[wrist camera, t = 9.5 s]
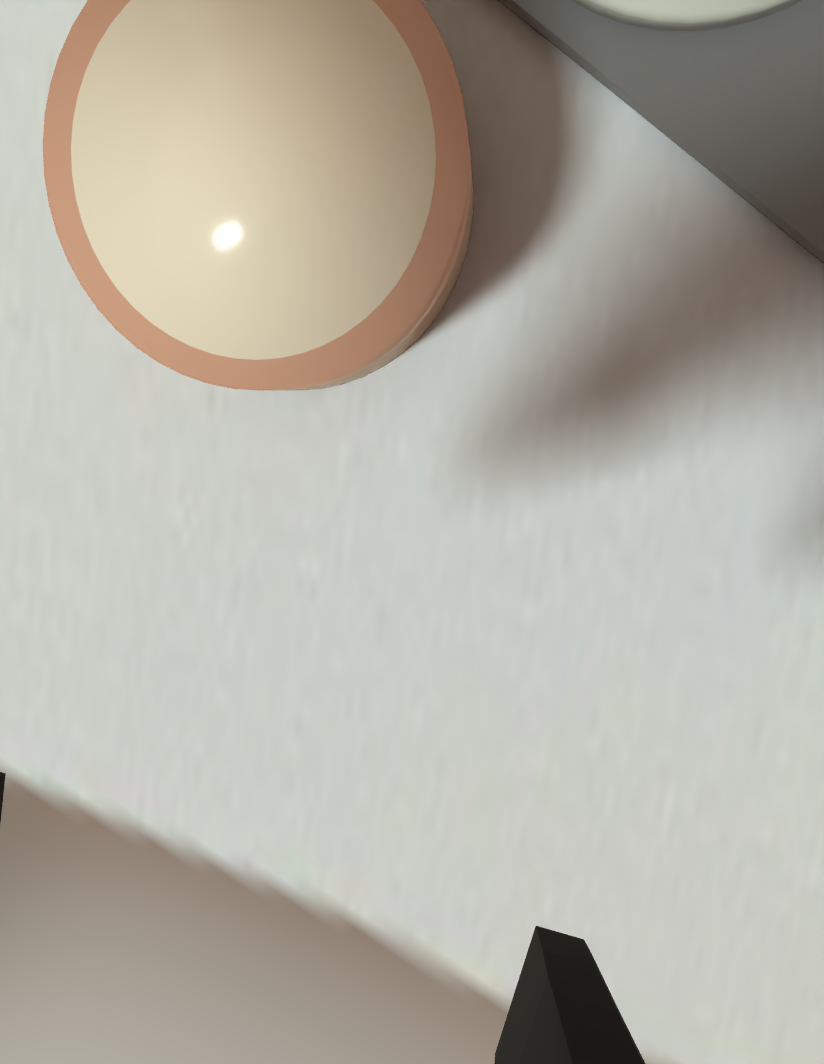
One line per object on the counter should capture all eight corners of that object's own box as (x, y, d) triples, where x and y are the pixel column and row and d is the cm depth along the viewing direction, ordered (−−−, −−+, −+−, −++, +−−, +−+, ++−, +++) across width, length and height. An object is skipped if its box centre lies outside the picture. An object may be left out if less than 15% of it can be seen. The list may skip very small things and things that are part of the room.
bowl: (550, 159, 15) (563, 104, 12) (332, 459, 17) (298, 473, 14) (248, -83, 15) (188, -198, 12) (61, 248, 17) (-30, 219, 14)
